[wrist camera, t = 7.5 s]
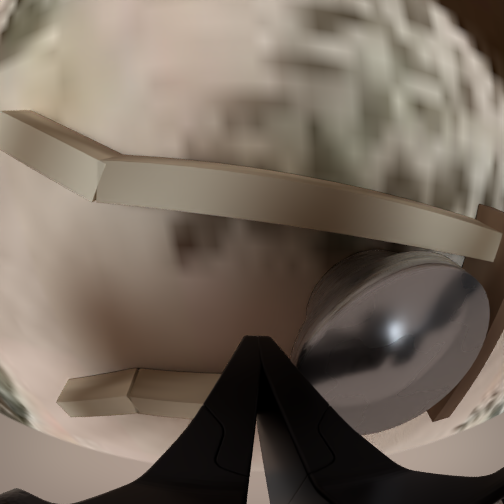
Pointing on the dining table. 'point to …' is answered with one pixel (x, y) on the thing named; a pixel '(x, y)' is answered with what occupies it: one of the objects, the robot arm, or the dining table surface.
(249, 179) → the channel
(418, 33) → the dining table surface
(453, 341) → the stud
